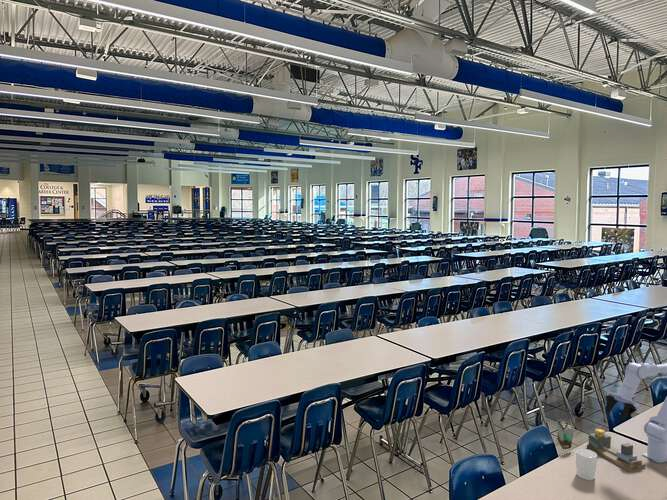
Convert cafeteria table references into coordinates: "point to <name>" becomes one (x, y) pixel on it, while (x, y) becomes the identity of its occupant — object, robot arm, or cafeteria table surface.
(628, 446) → the carriage
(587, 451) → the white cup
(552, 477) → the cafeteria table surface
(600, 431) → the button
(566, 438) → the food container
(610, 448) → the rail board
